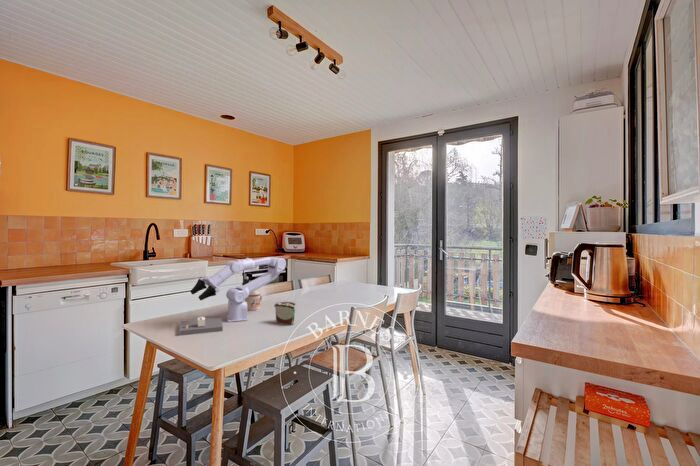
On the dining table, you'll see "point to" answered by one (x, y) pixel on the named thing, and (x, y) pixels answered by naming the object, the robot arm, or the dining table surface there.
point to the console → (192, 326)
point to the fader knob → (201, 321)
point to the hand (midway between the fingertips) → (195, 295)
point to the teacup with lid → (253, 300)
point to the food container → (285, 312)
